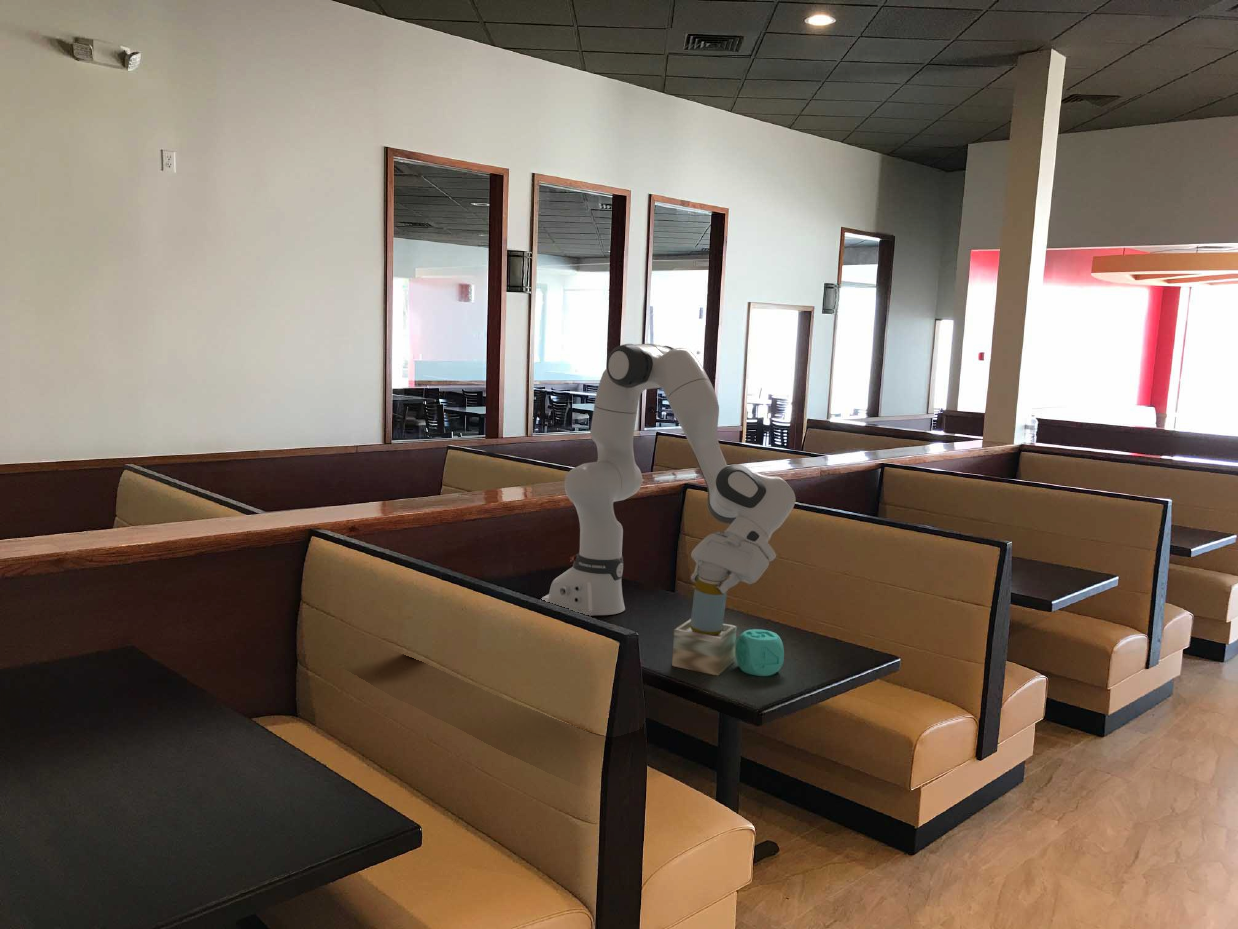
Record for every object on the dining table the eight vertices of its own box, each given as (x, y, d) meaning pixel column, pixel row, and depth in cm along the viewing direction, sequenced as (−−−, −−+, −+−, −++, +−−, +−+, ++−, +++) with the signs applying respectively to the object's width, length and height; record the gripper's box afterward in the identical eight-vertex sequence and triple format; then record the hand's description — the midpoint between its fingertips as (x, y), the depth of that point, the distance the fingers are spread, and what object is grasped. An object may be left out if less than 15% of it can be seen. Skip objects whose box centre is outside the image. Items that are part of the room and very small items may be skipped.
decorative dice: (783, 675, 200) (785, 639, 199) (749, 677, 198) (751, 641, 197) (767, 663, 208) (769, 628, 207) (734, 664, 205) (736, 629, 204)
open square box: (672, 665, 202) (674, 629, 201) (690, 652, 212) (692, 617, 211) (717, 675, 198) (720, 638, 197) (734, 661, 207) (736, 626, 206)
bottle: (723, 628, 207) (732, 564, 203) (718, 639, 200) (727, 574, 197) (693, 622, 208) (701, 559, 205) (687, 633, 202) (695, 568, 198)
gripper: (708, 521, 213) (671, 565, 209) (767, 538, 196) (728, 588, 192) (722, 538, 216) (686, 583, 212) (781, 558, 199) (743, 606, 195)
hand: (706, 585), depth 202 cm, fingers open, 8 cm apart
